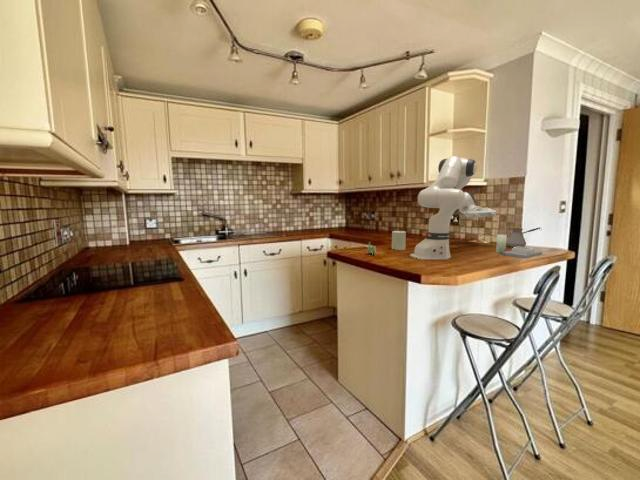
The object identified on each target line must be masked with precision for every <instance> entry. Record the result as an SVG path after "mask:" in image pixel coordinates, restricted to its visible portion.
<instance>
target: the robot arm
mask: <svg viewBox="0 0 640 480" xmlns="http://www.w3.org/2000/svg"><path fill="white" fill-rule="evenodd" d="M438 163H439V164H438V167H437V170H438V175H437V178H436V180H435V181H433V182H432V183H431V184H430V185H429V186H427V187H426V188H425V189H422V190H420V191H419V193H418V195H417V203H418V205H419V206H420V207H424V208H428V209H439V211H438V213H436V214H433V215H432V216H431V217H430V218H429V221H428V231H427V233H426V232H422V237H425V238H424V239H423V240H422V241H420V242H418V243H417V244H416V245H415V247H414V250H413V253H410V255H409V256H410V257H411V258H414V259H416V258H417V259H416V260H422V261H423V260H429V261H430V260H434V261H435V260H437V261H439V260H440V261H441V260H447V261H448V260H449V259H451V258H452V255H451V252H450V237H451V236H450V235H451V233H450V225H451V220H452V217H453V214H458V213H459V212H460V213H461V214H462V215H464V217H465V218H467V219H475V220H477V219H482V218H491V217H492V218H496V216H497V213H498V211H497V210H496V209H493V208H489V207H487V206H481V205H480V206H479V205H476V199H475V197H474V195H473V194H472V193H471V192H468V191H463V190H462V189H463V188H464V187H466V186H467V185H468V184H469V183H470V181H471V179H472V176H474V175H475V173H476V172H477V162H476V160H475V159H471V158H465V157H458V156H455V155H453V156H449V157H447V158H444V159H442V160H440V161H439V162H438Z"/></svg>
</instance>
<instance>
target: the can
mask: <svg viewBox="0 0 640 480" xmlns="http://www.w3.org/2000/svg"><path fill="white" fill-rule="evenodd" d="M406 236H407V232H406V231H403V230H393V231H391V250H394V249H395V250H396V251H405V250H406V241H407V240H406V239H407V237H406Z"/></svg>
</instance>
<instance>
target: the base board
mask: <svg viewBox="0 0 640 480" xmlns="http://www.w3.org/2000/svg"><path fill="white" fill-rule="evenodd" d="M540 254H541V255H543V251H539V250H535V247H527V246H524V247H520V246H518V247H513V248H512V247H511V250H509V251H505V252H503V253H502V256H507V257H513V258H515V257H516V258H520V259H527V258H532V257H537V256H539V255H540Z"/></svg>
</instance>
